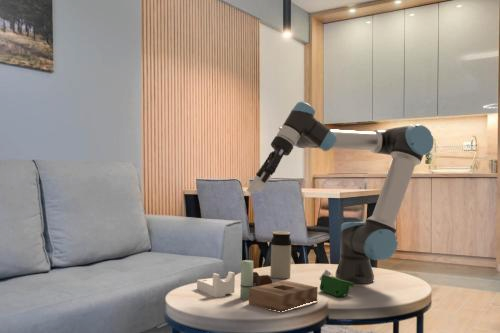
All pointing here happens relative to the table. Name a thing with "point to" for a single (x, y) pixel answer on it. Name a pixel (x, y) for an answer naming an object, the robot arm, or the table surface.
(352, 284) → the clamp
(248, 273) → the peg
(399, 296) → the table surface
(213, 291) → the bracket
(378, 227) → the robot arm
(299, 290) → the board
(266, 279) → the bolt
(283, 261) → the travel mug
